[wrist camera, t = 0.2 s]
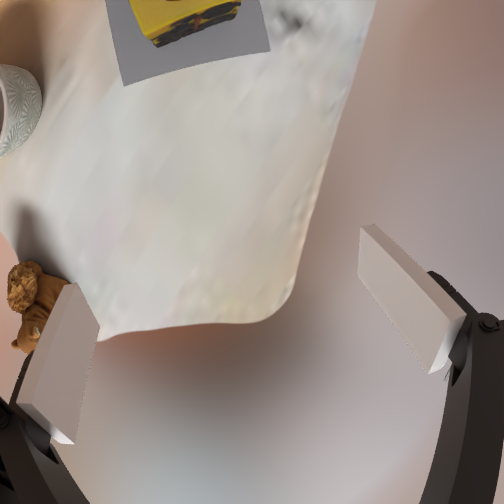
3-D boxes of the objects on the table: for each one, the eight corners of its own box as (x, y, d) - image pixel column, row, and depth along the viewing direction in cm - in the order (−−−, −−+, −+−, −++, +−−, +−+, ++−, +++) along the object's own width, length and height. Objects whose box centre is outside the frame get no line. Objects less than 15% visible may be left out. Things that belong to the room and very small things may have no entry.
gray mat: (101, -30, 21) (100, -31, 21) (241, -62, 22) (242, -63, 22) (124, 86, 31) (123, 86, 30) (269, 51, 32) (270, 51, 31)
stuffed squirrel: (50, 322, 45) (28, 378, 34) (5, 259, 38) (-32, 310, 27) (90, 307, 45) (71, 368, 34) (43, 237, 38) (4, 289, 27)
